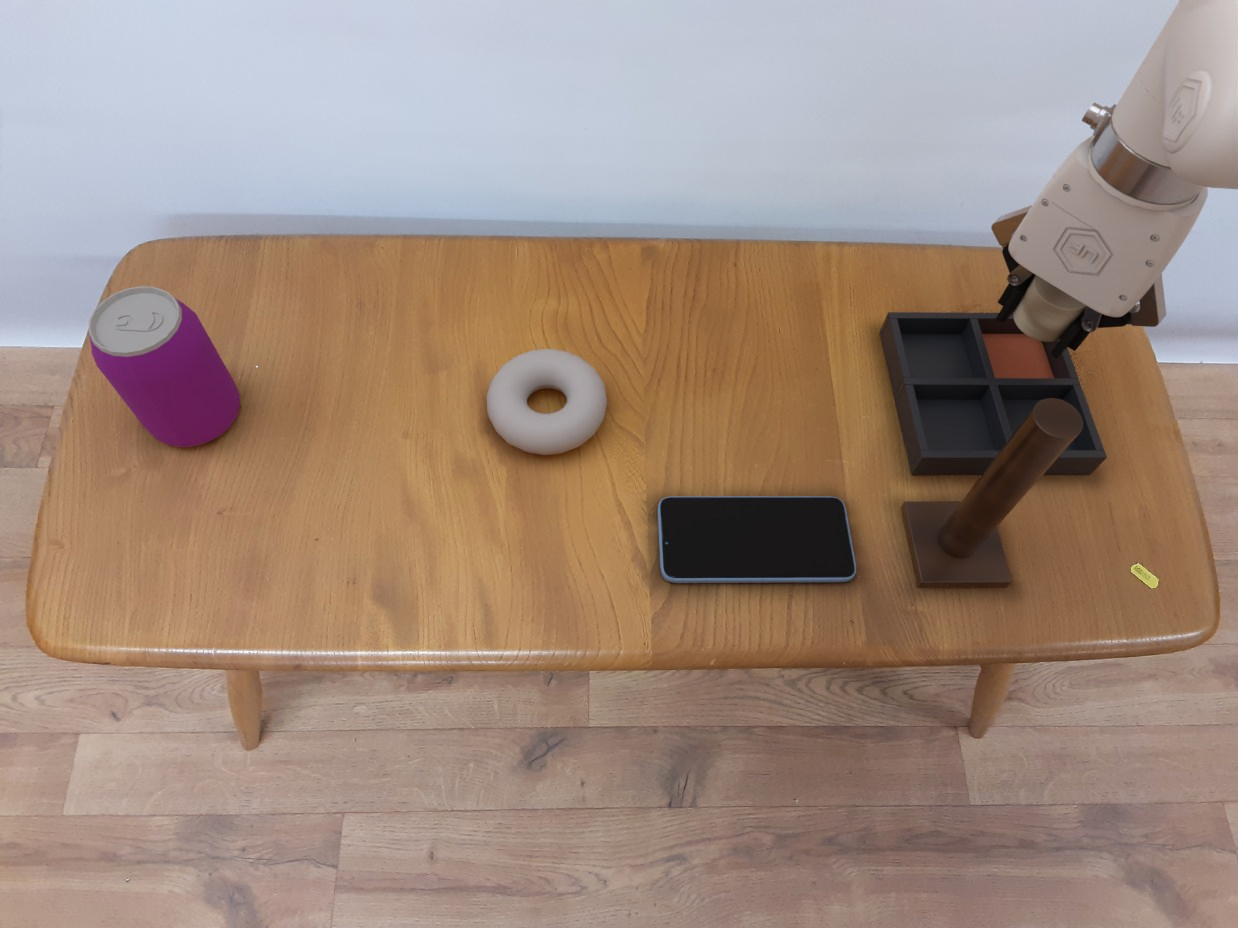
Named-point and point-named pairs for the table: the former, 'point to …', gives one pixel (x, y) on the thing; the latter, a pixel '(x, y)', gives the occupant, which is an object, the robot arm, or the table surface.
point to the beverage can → (163, 366)
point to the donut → (552, 428)
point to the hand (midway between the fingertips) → (1035, 328)
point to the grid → (977, 391)
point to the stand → (987, 505)
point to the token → (1046, 311)
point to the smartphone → (754, 539)
